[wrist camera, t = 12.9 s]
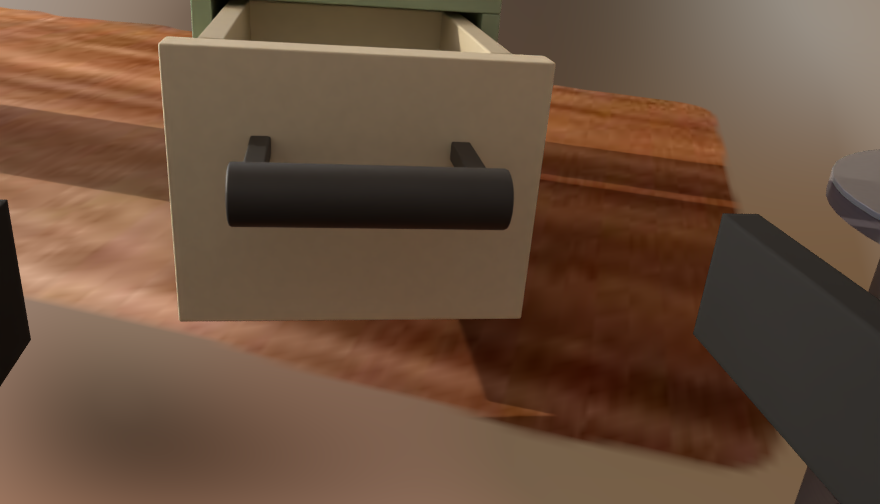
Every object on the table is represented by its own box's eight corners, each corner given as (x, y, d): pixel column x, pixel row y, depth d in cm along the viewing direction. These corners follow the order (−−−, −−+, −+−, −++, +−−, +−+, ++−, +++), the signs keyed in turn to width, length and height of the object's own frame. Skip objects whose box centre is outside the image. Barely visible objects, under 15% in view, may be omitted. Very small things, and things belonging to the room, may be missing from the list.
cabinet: (478, 228, 36) (502, -6, 31) (203, 225, 34) (188, -26, 29) (434, 141, 49) (447, -33, 45) (234, 134, 47) (227, -49, 42)
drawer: (563, 405, 22) (616, 103, 18) (147, 417, 20) (113, 82, 16) (456, 187, 38) (472, 6, 35) (223, 182, 36) (215, -10, 33)
